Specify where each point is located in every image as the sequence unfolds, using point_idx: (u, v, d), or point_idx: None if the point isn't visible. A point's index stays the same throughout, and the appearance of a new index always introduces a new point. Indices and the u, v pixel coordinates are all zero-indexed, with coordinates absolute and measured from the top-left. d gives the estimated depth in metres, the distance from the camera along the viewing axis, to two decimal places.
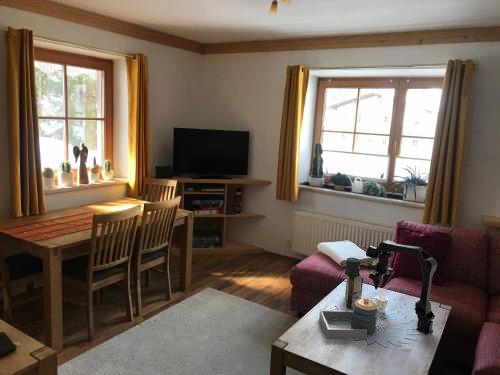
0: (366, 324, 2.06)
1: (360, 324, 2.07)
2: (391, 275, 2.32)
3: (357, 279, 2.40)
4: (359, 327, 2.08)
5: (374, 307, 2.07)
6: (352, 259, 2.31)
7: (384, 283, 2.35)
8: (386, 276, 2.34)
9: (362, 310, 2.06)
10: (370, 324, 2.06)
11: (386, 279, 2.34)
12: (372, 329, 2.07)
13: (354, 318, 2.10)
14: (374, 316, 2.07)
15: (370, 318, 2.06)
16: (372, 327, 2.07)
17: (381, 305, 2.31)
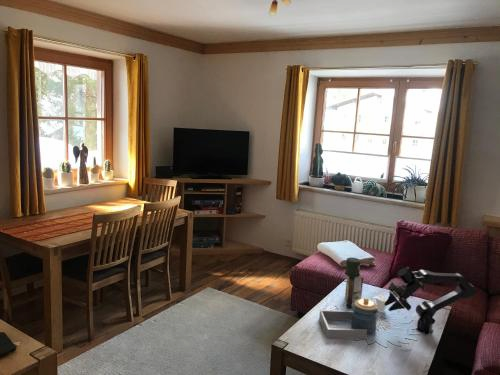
0: (366, 324, 2.06)
1: (360, 324, 2.07)
2: None
3: (357, 279, 2.40)
4: (359, 327, 2.08)
5: (374, 307, 2.07)
6: (352, 259, 2.31)
7: (387, 304, 2.14)
8: (393, 298, 2.14)
9: (362, 310, 2.06)
10: (370, 324, 2.06)
11: (391, 301, 2.14)
12: (372, 329, 2.07)
13: (354, 318, 2.10)
14: (374, 316, 2.07)
15: (370, 318, 2.06)
16: (372, 327, 2.07)
17: (381, 305, 2.31)
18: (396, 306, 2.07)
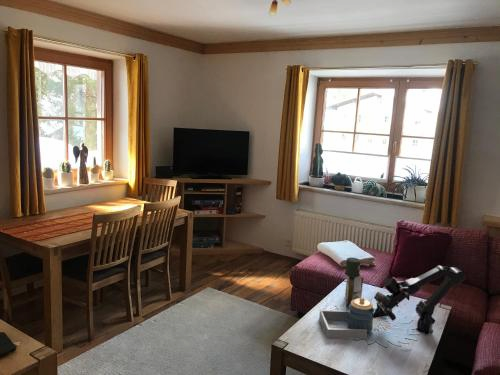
0: (362, 323, 2.06)
1: (356, 324, 2.07)
2: None
3: (357, 279, 2.40)
4: (355, 327, 2.08)
5: (370, 307, 2.07)
6: (352, 259, 2.31)
7: (374, 316, 2.12)
8: None
9: (358, 310, 2.06)
10: (366, 323, 2.06)
11: None
12: (368, 329, 2.07)
13: (350, 318, 2.10)
14: (370, 316, 2.07)
15: (366, 318, 2.06)
16: (368, 327, 2.07)
17: None
18: (379, 314, 2.11)
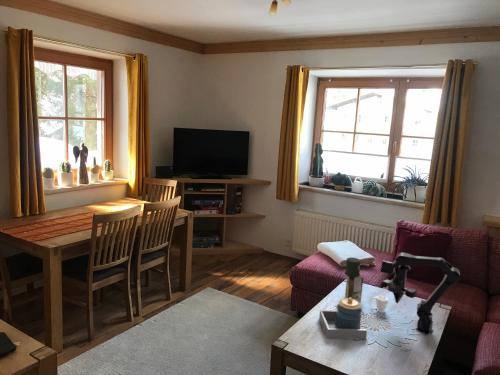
0: (349, 323, 2.06)
1: (343, 324, 2.07)
2: None
3: (357, 279, 2.40)
4: (342, 326, 2.08)
5: (357, 307, 2.07)
6: (352, 259, 2.31)
7: None
8: (397, 292, 2.19)
9: (345, 309, 2.06)
10: (353, 323, 2.06)
11: (398, 295, 2.19)
12: None
13: (338, 317, 2.10)
14: (357, 316, 2.07)
15: (353, 317, 2.06)
16: (355, 327, 2.07)
17: (381, 305, 2.31)
18: (400, 296, 2.17)
